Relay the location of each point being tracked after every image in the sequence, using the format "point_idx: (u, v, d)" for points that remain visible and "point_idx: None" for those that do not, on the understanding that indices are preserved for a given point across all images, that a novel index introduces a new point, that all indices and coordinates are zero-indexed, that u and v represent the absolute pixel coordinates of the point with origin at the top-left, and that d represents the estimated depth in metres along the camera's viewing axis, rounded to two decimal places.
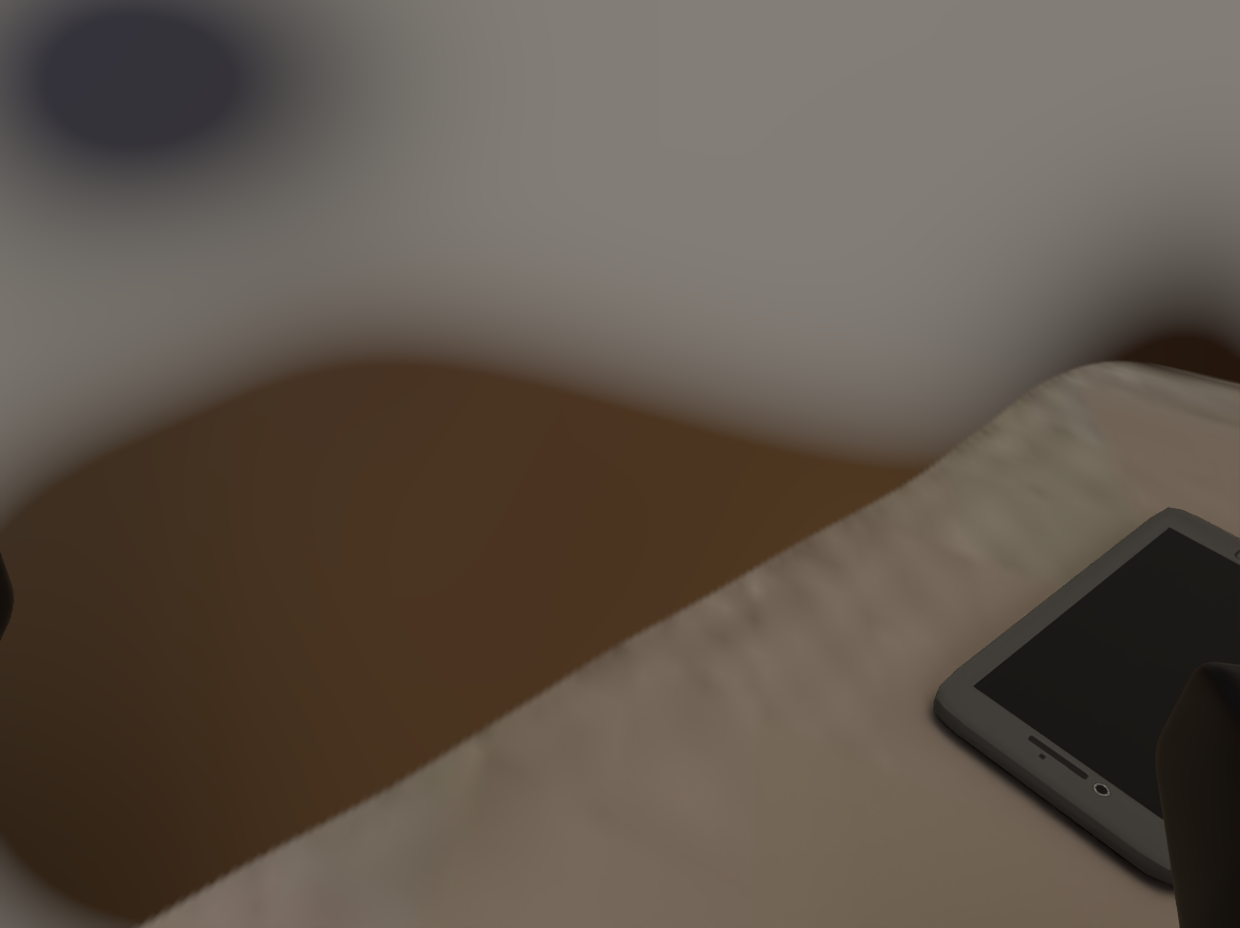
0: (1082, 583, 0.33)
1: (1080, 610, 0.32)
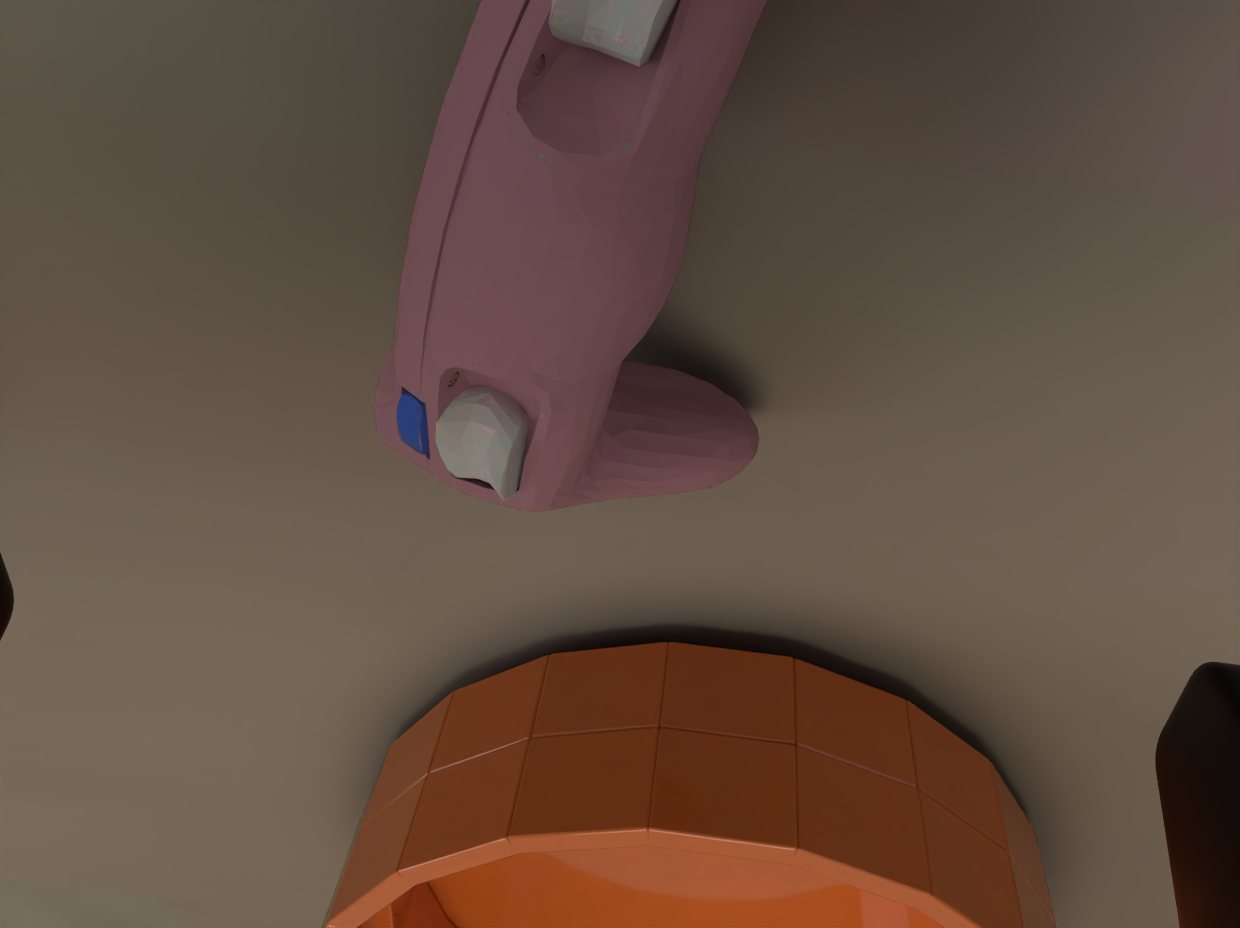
0: None
1: None
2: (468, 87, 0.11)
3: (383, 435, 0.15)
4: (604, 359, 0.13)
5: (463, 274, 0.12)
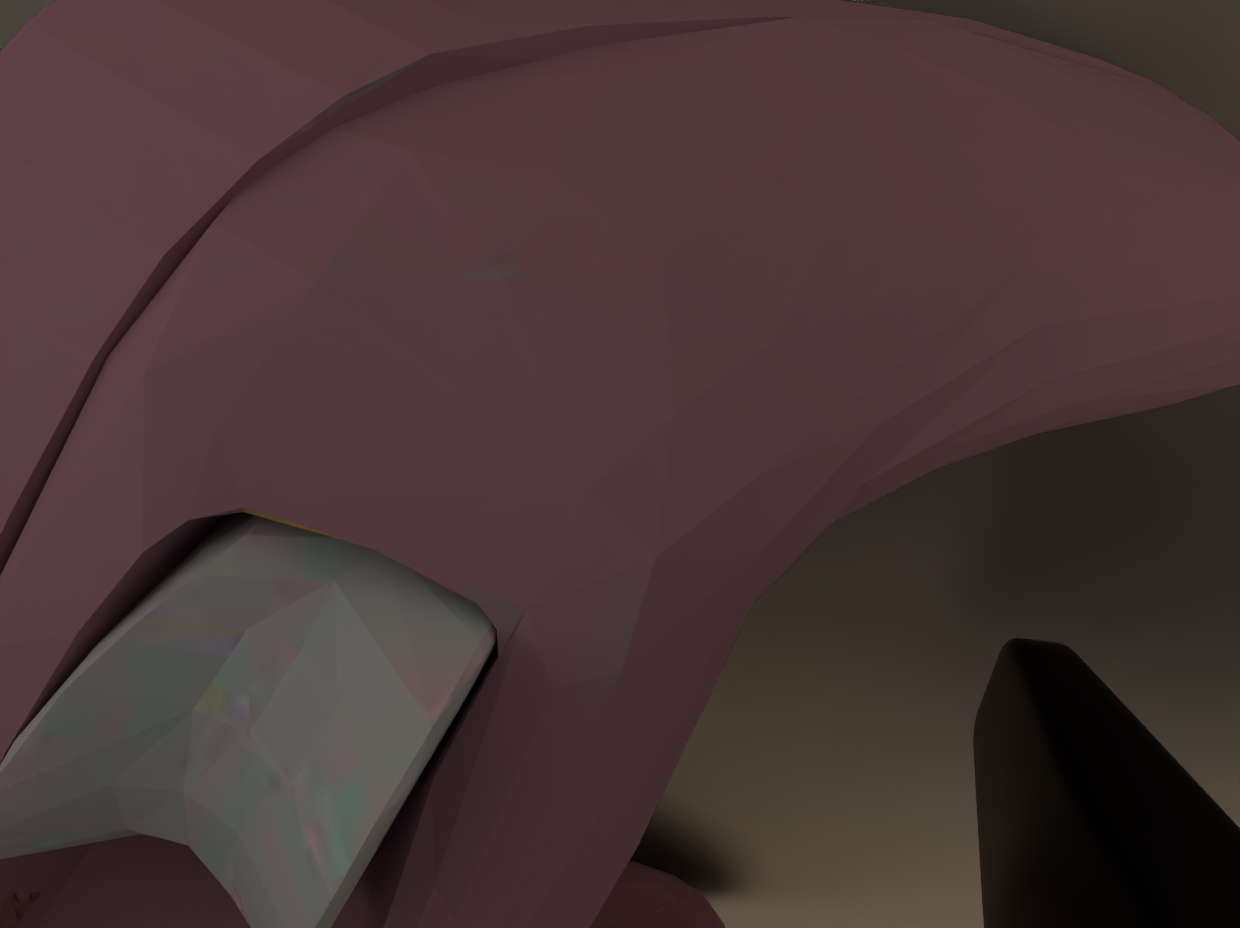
0: None
1: None
2: None
3: None
4: None
5: None
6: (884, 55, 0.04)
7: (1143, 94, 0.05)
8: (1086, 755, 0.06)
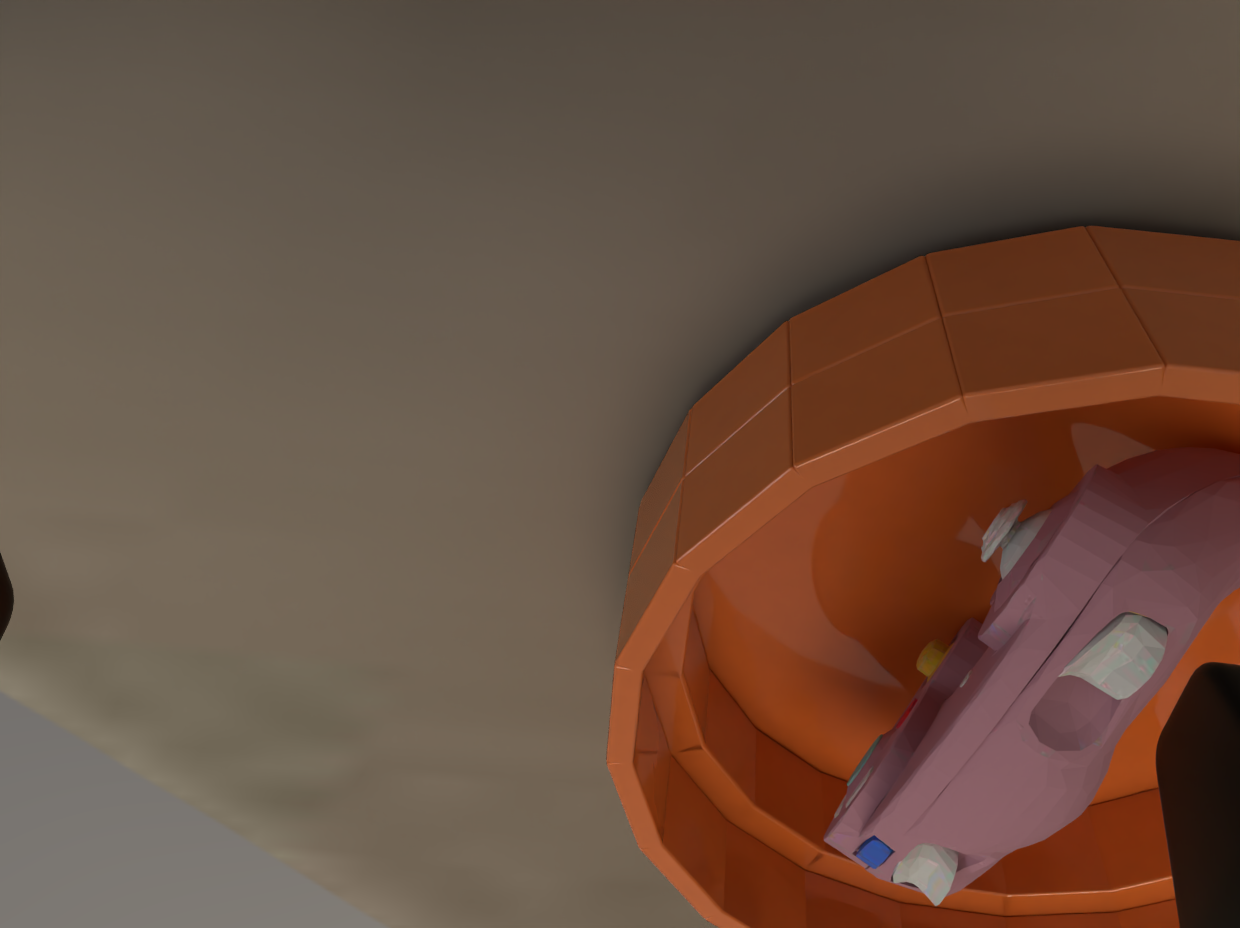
0: None
1: None
2: (992, 704, 0.17)
3: (830, 841, 0.21)
4: (1040, 839, 0.18)
5: (962, 801, 0.18)
6: (1217, 499, 0.17)
7: None
8: None
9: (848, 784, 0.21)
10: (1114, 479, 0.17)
